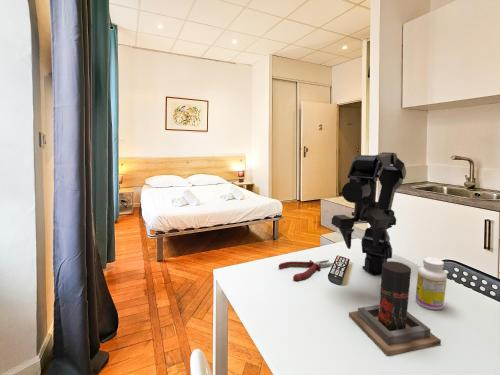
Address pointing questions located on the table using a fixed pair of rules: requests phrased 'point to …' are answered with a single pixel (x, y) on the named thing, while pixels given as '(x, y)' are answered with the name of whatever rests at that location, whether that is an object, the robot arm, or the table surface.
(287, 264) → the pliers
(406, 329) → the socket board
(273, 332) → the table surface
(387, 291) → the deodorant
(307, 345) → the table surface
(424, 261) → the supplement bottle
